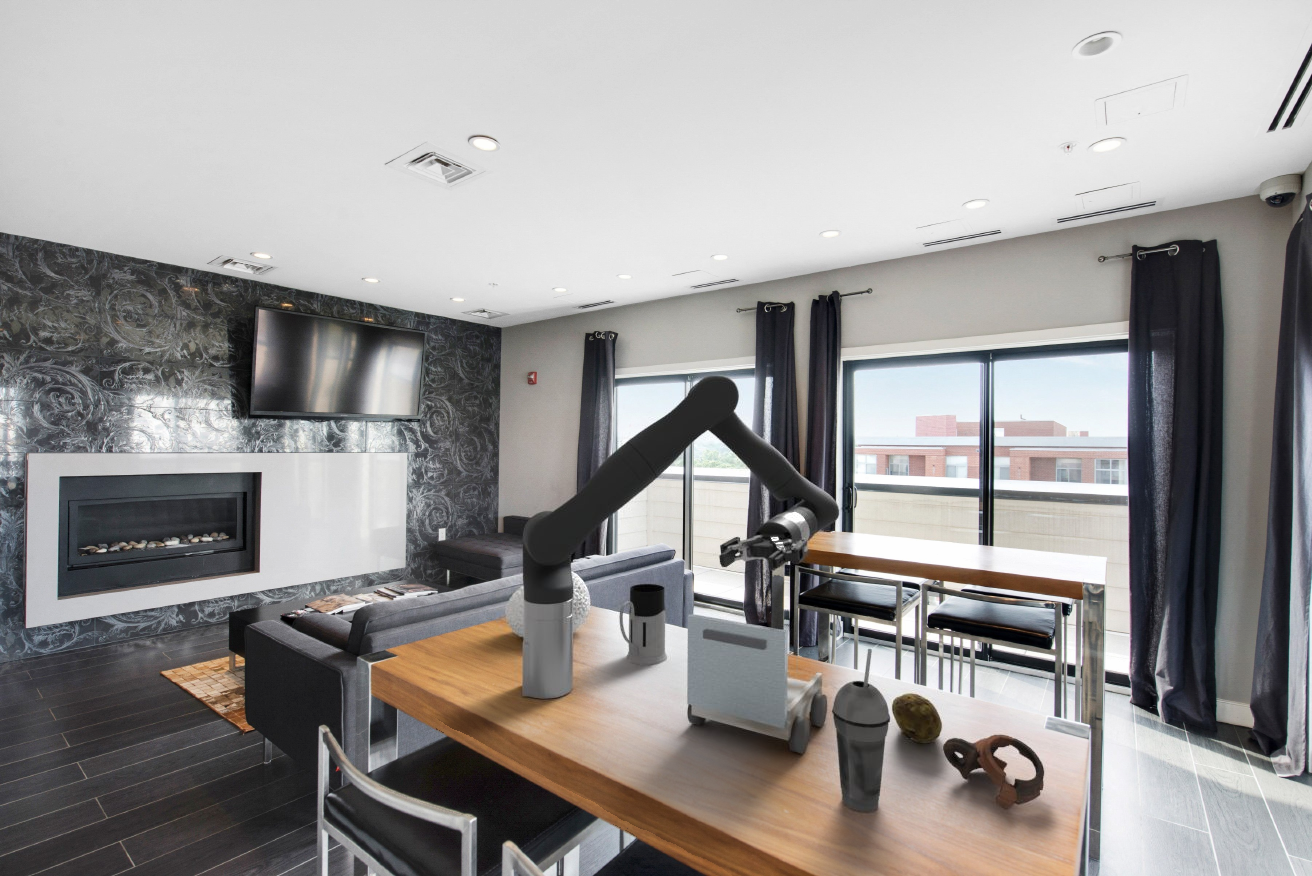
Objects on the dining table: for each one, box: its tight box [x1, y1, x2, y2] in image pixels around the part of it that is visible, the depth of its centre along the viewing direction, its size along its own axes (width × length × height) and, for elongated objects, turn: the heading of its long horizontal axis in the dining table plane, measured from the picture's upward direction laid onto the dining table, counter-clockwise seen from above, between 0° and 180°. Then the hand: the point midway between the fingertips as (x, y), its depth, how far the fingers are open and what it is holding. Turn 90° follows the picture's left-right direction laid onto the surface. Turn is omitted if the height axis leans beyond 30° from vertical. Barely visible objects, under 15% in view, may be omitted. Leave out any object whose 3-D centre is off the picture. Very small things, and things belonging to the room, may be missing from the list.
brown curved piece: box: [942, 734, 1045, 810], centre depth 83 cm, size 12×10×8 cm
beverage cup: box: [831, 648, 891, 813], centre depth 80 cm, size 7×7×20 cm
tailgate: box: [686, 613, 789, 729], centre depth 93 cm, size 2×16×14 cm, turn 59°
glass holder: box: [618, 583, 668, 666], centre depth 130 cm, size 9×14×15 cm, turn 148°
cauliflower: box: [504, 570, 592, 639], centre depth 146 cm, size 20×18×16 cm
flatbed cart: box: [686, 672, 828, 755], centre depth 102 cm, size 18×19×7 cm
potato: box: [891, 692, 943, 744], centre depth 97 cm, size 8×13×8 cm, turn 140°
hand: (746, 562), depth 99 cm, fingers open, 8 cm apart
